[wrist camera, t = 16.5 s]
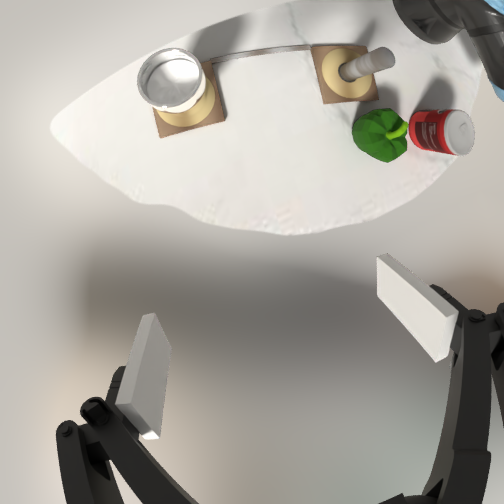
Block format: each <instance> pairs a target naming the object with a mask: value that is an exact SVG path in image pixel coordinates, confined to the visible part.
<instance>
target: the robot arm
mask: <svg viewBox="0 0 504 504" xmlns="http://www.w3.org/2000/svg"><path fill="white" fill-rule="evenodd" d="M393 3H394V6H395V9H396V11H397V13H398V15H399V17H400V18H401V20H402V21H403V22H404V24H405V25H406V26H407V27H408V28H409V29H410V31H412V32H413V33H414V34H415V35H416V36H417V37H419V38H420V39H422V40H424V41H426V42H428V43H431V44H441V43H445V42H448V41H449V40H451V39H452V38H453V37H454V36H455V35H456V34H457V33H458V32H459V31H460V30H461V29H465V28H466V30H467V32H468V34H469V36H470V38H471V40H472V42H473V44H474V46H475V48H476V50H477V52H478V54H479V56H480V59H481V61H482V63H483V65H484V68H485V70H486V72H487V76H488V79H489V81H490V82H491V84H492V86H493V89H494V91H495V93H496V95H497V96H498V97H499V98H500V99H501V100H502V101H503V102H504V0H393ZM377 296H378V297H379V298H380V299H381V300H382V301H383V303H384V304H385V305H386V306H387V307H388V308H389V309H390V310H391V311H392V312H393V313H394V314H395V316H396V317H397V318H398V319H399V320H400V321H401V323H402V324H403V325H404V326H405V327H406V328H407V329H408V330H409V331H410V333H411V334H412V335H413V336H414V337H415V339H416V340H417V341H418V342H419V343H420V344H421V346H422V347H423V348H424V349H425V350H426V351H427V353H428V354H429V355H430V356H431V357H432V358H433V360H434V361H435V362H438V361H440V360H441V359H443V358H445V357H447V355H448V352H449V349H450V348H451V349H452V350H453V351H454V354H453V357H452V360H451V363H450V366H449V367H452V370H451V379H450V388H449V394H448V401H447V407H446V413H445V418H444V424H443V429H442V433H441V438H440V442H439V446H438V450H437V454H436V458H435V461H434V465H433V469H432V472H431V475H430V477H429V480H428V482H427V484H426V485H425V487H424V490H423V492H422V495H413V496H407V497H404V495H403V494H402V493H401V494H399V495H397V496H395V497H393V498H391V499H388V500H386V501H384V502H381V503H379V504H482V501H483V497H484V493H485V489H486V484H487V479H488V474H489V469H490V463H491V453H490V452H489V451H487V443H488V436H489V426H490V413H491V373H492V377H493V381H494V384H495V388H496V392H497V396H498V401H499V405H500V410H501V415H502V420H503V426H504V303H500V304H499V306H498V308H497V311H496V313H492V314H487V315H486V314H485V313H484V312H482V311H480V310H476V309H471V310H468V309H467V308H465V307H464V306H463V305H462V304H461V303H459V302H458V301H457V300H456V299H455V298H452V296H451V295H450V294H448V293H447V292H446V291H445V290H443V289H442V288H441V287H439V286H436V285H434V284H432V285H430V286H428V285H427V284H426V283H424V282H423V281H422V280H421V279H420V278H418V277H417V276H416V275H415V274H413V273H412V272H411V271H410V270H408V269H407V268H406V267H405V266H403V265H402V264H401V263H399V262H398V261H397V260H396V259H394V258H393V257H392V256H390V255H389V254H388V253H387V254H384V255H380V256H377ZM171 351H172V348H171V346H170V344H169V342H168V340H167V338H166V336H165V333H164V332H163V329H162V327H161V325H160V323H159V321H158V318H157V316H156V314H155V313H151V314H146V315H143V317H142V319H141V322H140V325H139V328H138V331H137V334H136V337H135V340H134V343H133V346H132V349H131V352H130V355H129V359H128V362H127V365H126V366H121V367H119V368H118V369H117V370H116V372H115V373H114V375H113V378H112V381H111V382H112V383H111V384H110V389H109V390H108V393H107V397H106V400H105V401H104V400H103V399H102V398H100V397H92V398H90V399H88V400H87V401H86V402H84V403H83V405H82V406H81V410H80V414H81V416H82V417H83V418H84V419H85V420H86V421H87V424H83V425H80V426H78V425H77V424H76V423H75V422H73V421H71V420H68V421H64V422H63V423H61V424H60V425H59V426H58V428H57V430H56V441H57V451H58V458H59V466H60V472H61V478H62V484H63V489H64V494H65V498H66V502H67V504H124V502H123V499H122V497H121V494H120V491H119V489H118V486H117V483H116V480H115V478H114V474H113V471H112V468H111V465H110V462H109V460H112V462H113V464H114V465H115V466H116V468H117V470H118V471H119V472H120V474H121V475H122V477H123V478H124V479H125V481H126V482H127V484H128V485H129V486H130V487H131V489H132V490H133V492H134V493H135V494H136V496H137V497H138V498H139V499H140V501H141V502H142V503H143V504H199V503H197V502H196V501H195V500H194V499H193V498H192V497H191V496H190V495H189V494H188V493H187V492H186V491H185V490H184V489H183V488H182V487H181V486H180V485H179V484H177V482H176V481H175V480H174V479H173V478H172V477H171V476H170V475H169V474H168V473H167V472H166V471H165V470H164V469H163V467H161V465H160V464H159V463H158V462H157V461H156V460H155V458H154V457H153V456H152V455H151V454H150V453H149V451H148V450H147V449H146V448H145V447H144V446H143V444H142V443H141V442H140V441H139V440H138V439H139V433H140V434H141V435H142V436H143V437H144V438H145V439H159V438H160V433H161V424H162V416H163V407H164V400H165V392H166V385H167V377H168V370H169V363H170V357H171Z"/></svg>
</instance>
